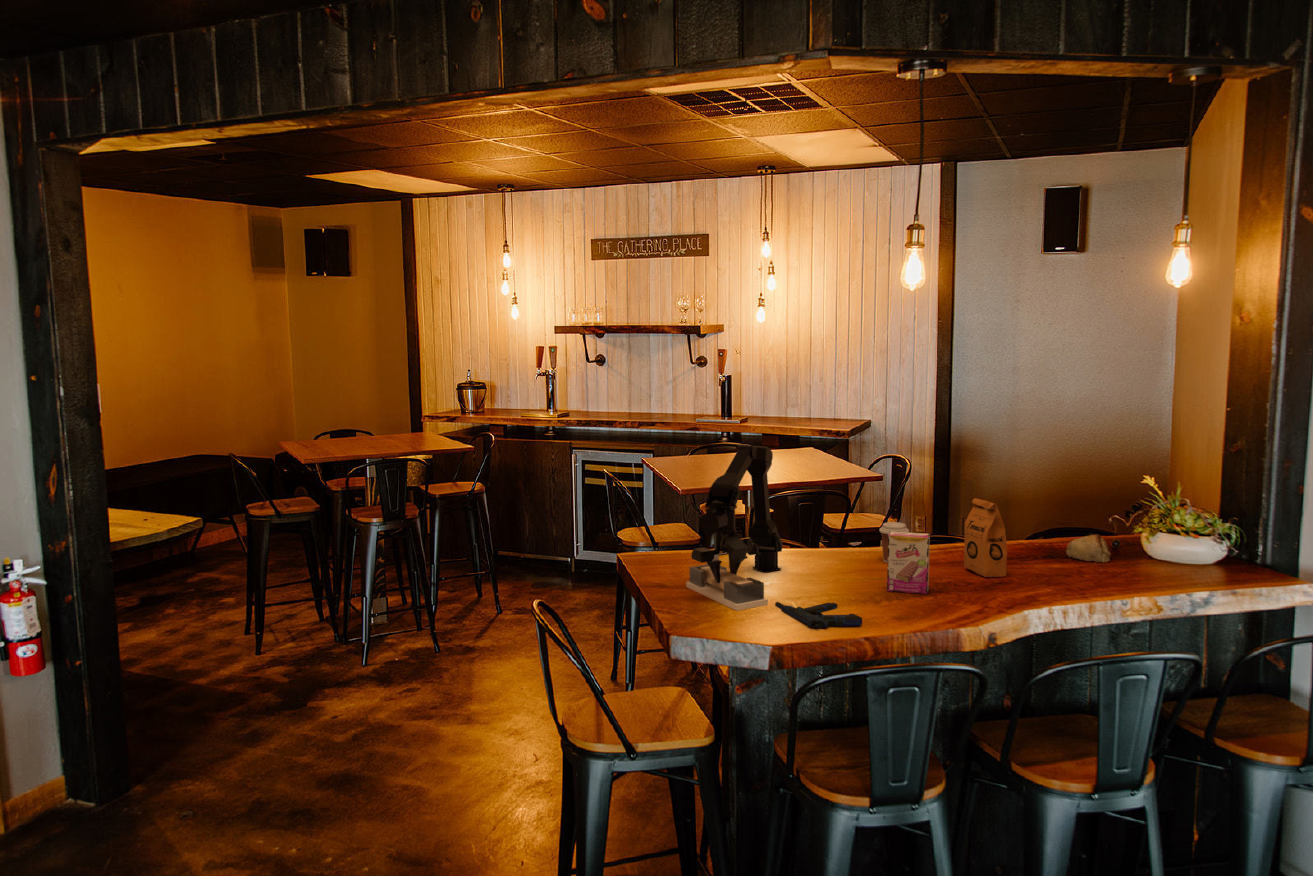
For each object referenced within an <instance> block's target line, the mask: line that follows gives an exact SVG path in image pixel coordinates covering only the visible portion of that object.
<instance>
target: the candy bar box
mask: <svg viewBox="0 0 1313 876" xmlns="http://www.w3.org/2000/svg"><path fill="white" fill-rule="evenodd" d="M930 537H931V535H930V533H919V532H909V533H907V532H892V531H890V532H889V535H888V563H887V573H886V574H887V576H886V577H887V578H886V580H887V581H886V590H887V592H894V593H895V592H896V593H904V594H907V593H908V594H916V595H917V594H920V595H921V594H922V595H928V592H929V577H930V575H929V574H930V543H931V542H930V541H931V540H930V539H931V538H930Z"/></svg>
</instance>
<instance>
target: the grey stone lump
mask: <svg viewBox="0 0 1313 876" xmlns="http://www.w3.org/2000/svg"><path fill="white" fill-rule="evenodd" d="M1065 554H1066V555H1068V556H1067V557H1068V558H1071V557H1072V558H1071V559H1076V560H1078V559H1079V561H1083V560H1084V561H1083V562H1085V561H1095V562H1103V563H1102V564H1105V563H1104V562H1108V561H1109V562H1110V559H1111V558H1110V557H1111V552H1110V551H1109V547H1108V544H1107V542H1106V540H1105V539H1104V538H1103V537H1102V536H1101V535H1100V534H1097V533H1096V534H1089V535H1085V536H1082V537H1078V538H1076V539H1075V538H1074V539H1073V540H1072V541H1069V543H1068V544H1067V547H1066V553H1065ZM1095 562H1094V563H1095Z"/></svg>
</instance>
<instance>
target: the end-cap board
mask: <svg viewBox="0 0 1313 876" xmlns="http://www.w3.org/2000/svg"><path fill="white" fill-rule="evenodd" d="M685 584H686V588H688V589H690V590H692V591H694V592H695V593H698V594H700V595H702V596H704V597H707V598H708V599H711V600H713V601H715V602H717V603H719V604H722V605H723V606H726V607H728V608H729V609H732V610H734V611H736V612H737V611H743V610H748V609H753V608H759V607H764V606H768V605H769V604H768V603H769V602H768V601H769V599H768V598H765V597H764V599H762V600H757V601H751V602H746V603H741V604H736V603H734V602H731V601H729V600H727V599H725V598H724V590H723V589H720V588H718V587H716V586H714V585H711V584H709V583H707V582H705V587H699V586H697V585H695V584H693V583H690V580H689V581H686V583H685Z"/></svg>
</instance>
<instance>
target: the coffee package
mask: <svg viewBox="0 0 1313 876" xmlns="http://www.w3.org/2000/svg"><path fill="white" fill-rule="evenodd" d="M971 503H972V504H973V506H972V508H971V510H970V512H969V513H968V516H967V518H966V520H965V522H964V539H963V540H964V541H963V542H964V545H963V546H964V548H963V559H964V561H963V562H964V564H963V567H964V568H965V569H967V570H970V571H971V572H974V573H975V574H976V575H980V576H982V577H984V578H986V577H989V578H992V577H995V578H1003V577H1004V576H1005V577H1007V561H1008V560H1007V559H1008V547H1007V546H1008V544H1007V536H1006V535H1007V534H1006V528H1005V524H1004V521H1003V519H1002V516H1001V512H1000V510H999V507H998V505H997V503H993V502H991V501H988V500H984V499H980V498H976V497H975V498H973V499H972V501H971Z"/></svg>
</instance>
